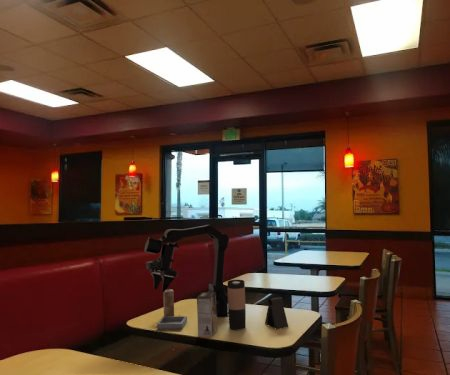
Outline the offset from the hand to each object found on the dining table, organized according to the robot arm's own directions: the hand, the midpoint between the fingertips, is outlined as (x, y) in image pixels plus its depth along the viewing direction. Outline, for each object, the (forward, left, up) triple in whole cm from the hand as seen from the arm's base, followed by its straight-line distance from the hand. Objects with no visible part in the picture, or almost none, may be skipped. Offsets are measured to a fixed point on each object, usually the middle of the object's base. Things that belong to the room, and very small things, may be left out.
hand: (159, 290), depth 171 cm
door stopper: (-52, -2, -16) cm, 55 cm away
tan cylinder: (-1, -13, -16) cm, 20 cm away
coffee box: (-23, +8, -16) cm, 29 cm away
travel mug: (-35, +1, -16) cm, 38 cm away
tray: (-6, -1, -16) cm, 17 cm away
